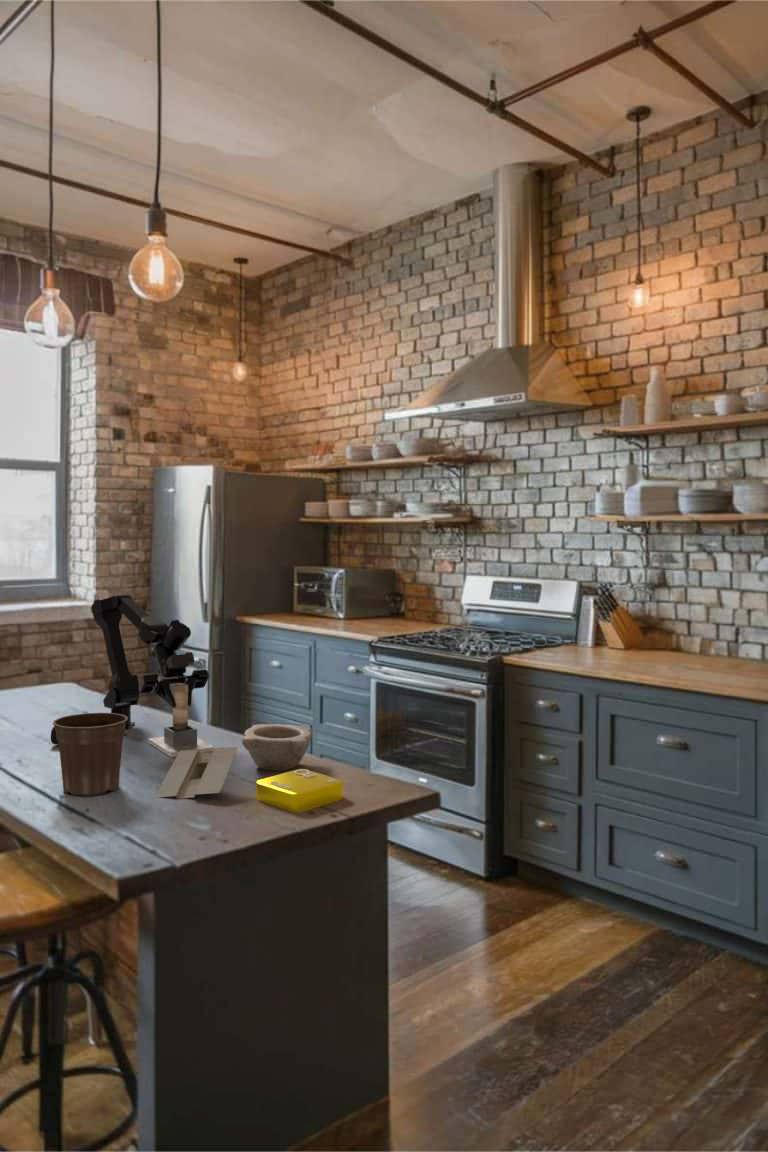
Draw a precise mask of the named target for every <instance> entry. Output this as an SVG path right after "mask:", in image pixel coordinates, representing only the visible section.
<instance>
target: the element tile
mask: <svg viewBox="0 0 768 1152" xmlns="http://www.w3.org/2000/svg"><path fill="white" fill-rule="evenodd" d="M255 799H256V800H257V801H259V802H262V803H265V804H268V805H272V806H274V807H278V808H280V809H282V810H286V811H289V812H293V813H301V812H307V811H310V810H313V809H317V808H318V807H323V806H326V805H328V804H331V803H334V802H338V801H341V800H343V799H344V781H343V779H340V778H336V777H332V776H329V775H327V774H323V773H319V772H315V771H312V770H309V769H306V768H299V769H295V770H291V771H286V772H284V773H280V774H276V775H272V776H268V777H265V778H261V779H258V780H257V781H255Z"/></svg>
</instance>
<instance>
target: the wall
mask: <svg viewBox="0 0 768 1152" xmlns="http://www.w3.org/2000/svg"><path fill="white" fill-rule="evenodd" d="M238 747H239V746H226V747H218V748H217V747H214V752H207V753H200V752H199V750H184V751H183V750H182V751H180V752H179V753H178V755H177V757H175V759H174V761H173V763H172V764H171V766H170V767H169V769H168V772H167V773H166V775H165V776H164V778H163V780H162V782H161V784H160V786H159V788H158V789H157V791H156V793H155V795H154V797H156V798H166V797H167V798H168V797H176V798H177V799H189V798H190V799H192V798H193V799H194V798H195V797H196V795H205V794H207V795H208V794H219V793H221V790H222V788H223V785H224V783H225V781H226V777H227V775H228V772H229V770H230V767H231V766H232V762H233V761H234V759H235V756H236V754H237V751H238Z"/></svg>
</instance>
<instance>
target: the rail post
mask: <svg viewBox="0 0 768 1152" xmlns="http://www.w3.org/2000/svg"><path fill="white" fill-rule="evenodd" d="M172 695H173V698H174V701H175V705H176V706H175V708H173V707H172V726H173V730H174V731H184V730H188V725H189V706H188V685H183V684H174V685H172Z"/></svg>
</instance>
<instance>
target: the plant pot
mask: <svg viewBox="0 0 768 1152" xmlns="http://www.w3.org/2000/svg"><path fill="white" fill-rule="evenodd" d="M127 720H128V717H127V716H125V715H122V714H116V713H111V712H88V713H79V714H78V713H77V714H69V715H66V716H61V717H59V718H56V719H55V720H53V721H52V724H53V727H54V726H55V730H56V738H57V740H58V743H59V745H58V750H59V751H58V752H59V758H60V767H61V778H62V789H63V792H64V793H65V794H70V795H73V796H79V797H80V796H81V797H90V796H91V797H92V796H97V795H103V794H105V793H106V792H113V791H115V790H117V789H118V788H119V786H120V779H121V778H120V776H121V765H122V764H121V763H122V750H123V741H124V737H125V736H124V734H126V728H125V724H126V721H127Z"/></svg>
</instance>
